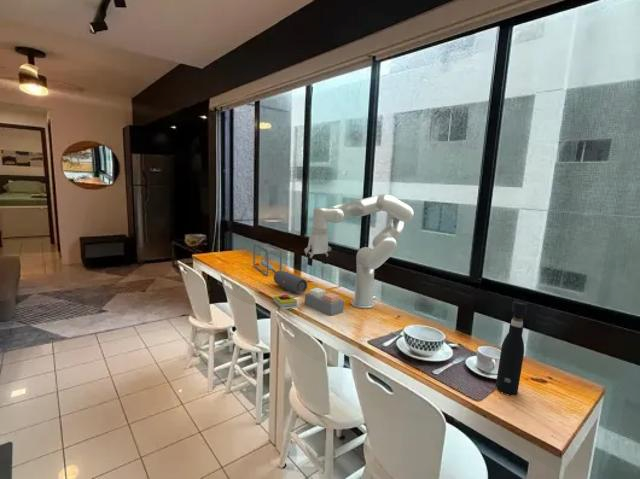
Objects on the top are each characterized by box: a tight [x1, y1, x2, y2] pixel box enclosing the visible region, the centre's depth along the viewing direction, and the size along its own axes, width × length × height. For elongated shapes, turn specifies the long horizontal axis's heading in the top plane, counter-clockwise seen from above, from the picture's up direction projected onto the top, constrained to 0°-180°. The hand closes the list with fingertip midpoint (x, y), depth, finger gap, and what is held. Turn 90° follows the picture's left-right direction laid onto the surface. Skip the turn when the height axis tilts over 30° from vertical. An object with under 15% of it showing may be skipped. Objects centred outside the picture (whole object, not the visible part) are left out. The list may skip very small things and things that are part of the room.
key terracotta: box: [323, 292, 341, 303], centre depth 174 cm, size 6×6×5 cm
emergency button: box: [272, 294, 299, 310], centre depth 182 cm, size 9×4×15 cm
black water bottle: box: [495, 300, 528, 396], centre depth 111 cm, size 6×6×30 cm
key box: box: [304, 292, 345, 317], centre depth 178 cm, size 9×19×6 cm, turn 44°
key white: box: [309, 287, 327, 298], centre depth 181 cm, size 6×6×5 cm
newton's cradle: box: [252, 243, 283, 277], centre depth 246 cm, size 30×10×18 cm, turn 29°
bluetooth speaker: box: [273, 269, 308, 294], centre depth 205 cm, size 23×9×10 cm, turn 42°
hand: (317, 264), depth 178 cm, fingers open, 9 cm apart
